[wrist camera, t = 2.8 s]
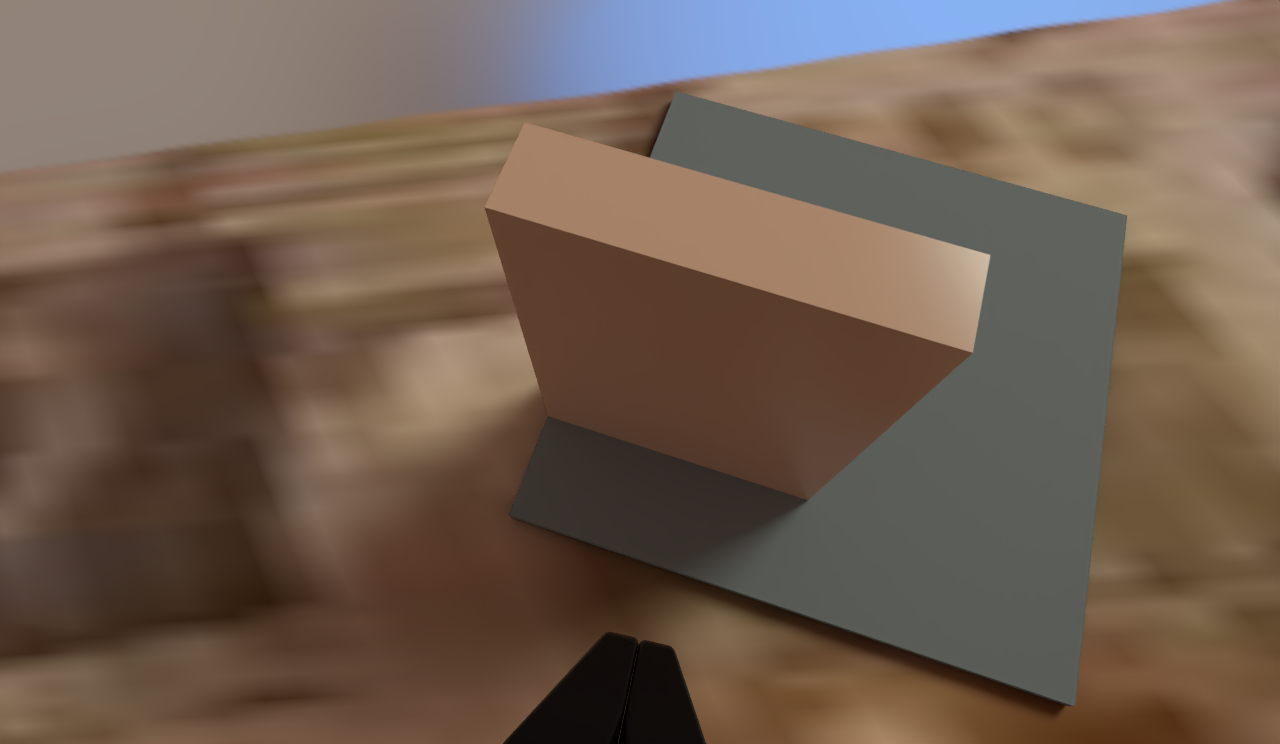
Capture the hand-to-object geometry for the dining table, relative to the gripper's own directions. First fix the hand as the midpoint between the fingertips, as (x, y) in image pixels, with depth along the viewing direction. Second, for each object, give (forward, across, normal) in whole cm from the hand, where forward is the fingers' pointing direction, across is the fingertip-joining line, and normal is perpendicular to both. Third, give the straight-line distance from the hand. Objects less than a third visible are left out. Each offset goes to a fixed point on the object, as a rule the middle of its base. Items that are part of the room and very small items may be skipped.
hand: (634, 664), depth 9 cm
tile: (+13, 0, +4) cm, 13 cm away
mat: (+16, -4, +1) cm, 17 cm away
